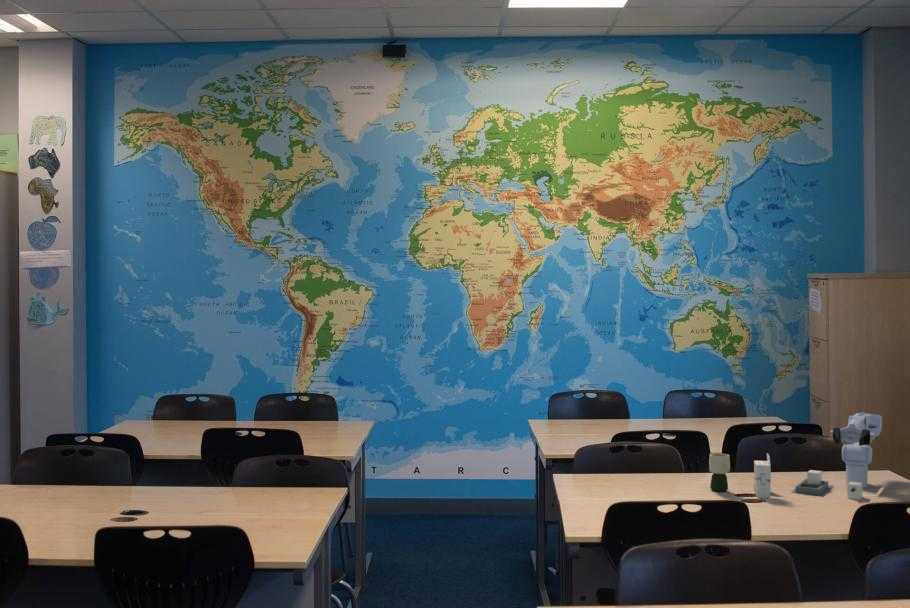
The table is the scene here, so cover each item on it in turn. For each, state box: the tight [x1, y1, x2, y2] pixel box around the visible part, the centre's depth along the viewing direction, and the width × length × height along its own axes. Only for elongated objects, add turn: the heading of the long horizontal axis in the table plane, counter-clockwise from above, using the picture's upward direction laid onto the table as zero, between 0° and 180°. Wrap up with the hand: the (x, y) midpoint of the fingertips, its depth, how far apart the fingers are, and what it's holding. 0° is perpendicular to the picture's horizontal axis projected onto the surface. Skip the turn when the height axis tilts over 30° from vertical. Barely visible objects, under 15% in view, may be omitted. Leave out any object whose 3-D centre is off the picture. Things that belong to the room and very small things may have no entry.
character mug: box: [708, 452, 731, 492], centre depth 331 cm, size 11×7×13 cm, turn 23°
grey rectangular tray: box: [790, 478, 835, 498], centre depth 329 cm, size 20×11×3 cm, turn 147°
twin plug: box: [806, 469, 823, 485], centre depth 332 cm, size 7×4×6 cm, turn 147°
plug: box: [847, 482, 863, 501], centre depth 315 cm, size 7×4×6 cm, turn 147°
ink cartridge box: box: [753, 452, 772, 499], centre depth 323 cm, size 9×5×15 cm, turn 168°
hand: (848, 442), depth 318 cm, fingers open, 7 cm apart
